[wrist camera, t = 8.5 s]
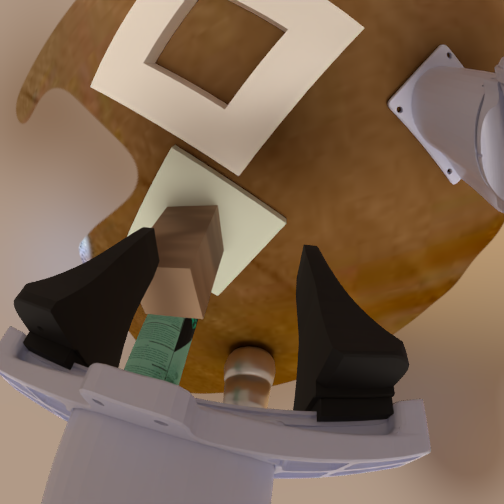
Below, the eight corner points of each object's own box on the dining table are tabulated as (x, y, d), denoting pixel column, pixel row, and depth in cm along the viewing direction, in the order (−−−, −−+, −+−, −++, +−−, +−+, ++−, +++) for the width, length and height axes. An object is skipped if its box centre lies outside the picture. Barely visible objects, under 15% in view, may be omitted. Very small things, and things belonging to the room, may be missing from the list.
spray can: (155, 311, 33) (98, 461, 17) (157, 282, 30) (85, 453, 14) (196, 325, 33) (153, 481, 17) (204, 297, 30) (153, 479, 14)
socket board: (357, 31, 14) (364, 28, 12) (242, 167, 21) (238, 176, 19) (196, -54, 10) (188, -63, 8) (103, 83, 17) (90, 86, 16)
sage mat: (286, 218, 23) (286, 223, 23) (219, 290, 29) (217, 295, 29) (174, 144, 20) (171, 147, 20) (128, 235, 26) (125, 240, 26)
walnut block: (218, 205, 22) (190, 268, 16) (224, 250, 25) (203, 319, 19) (167, 206, 23) (125, 265, 17) (177, 249, 26) (145, 313, 19)
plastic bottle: (217, 349, 36) (187, 491, 20) (254, 333, 33) (232, 498, 17) (249, 369, 39) (231, 499, 23) (286, 356, 36) (276, 502, 20)
